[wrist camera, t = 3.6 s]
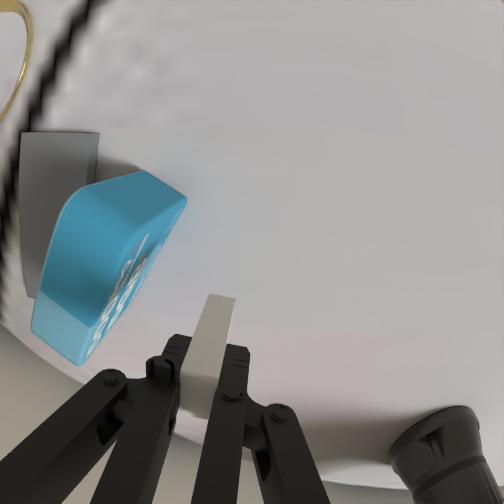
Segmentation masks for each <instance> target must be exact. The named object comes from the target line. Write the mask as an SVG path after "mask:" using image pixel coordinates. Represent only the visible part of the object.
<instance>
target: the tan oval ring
mask: <svg viewBox="0 0 504 504" xmlns="http://www.w3.org/2000/svg"><path fill="white" fill-rule="evenodd" d="M0 12H15V13H18V14H19V15H20V16H21V17H22V18H23V20H24V21H25V24H26V28H27V48H26V55H25V59H24V64H23V67H22V71H21V74H20V77H19V80H18V82H17V85H16V87H15V90H14V92H13V94H12V96H11V98H10V100H9V102H8V103H7V105H6V107H5V108H4V110H3V111H2V113H1V114H0V123H1V121H2V120H3V118H4V117H5V115H6V114H7V112H8V110H9V109H10V107H11V105H12V103H13V101H14V99H15V97H16V95H17V93H18V91H19V88H20V86H21V83H22V81H23V78H24V75H25V72H26V69H27V65H28V61H29V57H30V52H31V47H32V37H33V25H32V18H31V14H30V12H29V9H28V7H27V6H26V5H25V4H24V3H23V2H22V1H20V0H0ZM27 17H28V18H27Z"/></svg>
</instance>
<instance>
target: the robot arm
mask: <svg viewBox="0 0 504 504" xmlns="http://www.w3.org/2000/svg"><path fill="white" fill-rule="evenodd" d="M235 300H236V299H235V298H230V297H224V296H219V295H214V294H209V296H208V298H207V301H206V303H205V306H204V309H203V311H202V314H201V316H200V319H199V322H198V324H197V327H196V330H195V332H194V335H193V337H189V336H184V335H180V334H175V335H173V336H172V337H171V338H169V340H168V342H167V344H166V347H165V348H164V350H163V352H162V355H161V356H154V357H152V358H149V359H148V360H147V361H146V377H145V378H140V379H130V378H126V376H125V374H124V373H122V372H121V371H119V370H116V369H105V370H102V371H101V372H99V373H98V374H97V375H96V376H94V377H93V378H92V379H91V380H90V381H89V382H88V383H87V384H85V385H84V386H83V387H82V388H81V389H80V390H79V391H78V392H77V393H75V394H74V395H73V396H72V397H71V398H70V399H69V400H68V401H66V402H65V403H64V404H63V405H62V406H61V407H60V408H59V409H58V410H56V411H55V412H54V413H53V414H52V415H51V416H50V417H49V418H47V419H46V420H45V421H44V422H43V423H42V424H41V425H40V426H39V427H38V428H36V429H35V430H34V431H33V432H32V433H31V434H30V435H29V436H28V437H26V438H25V439H24V440H23V441H22V442H21V443H20V444H19V445H18V446H16V447H15V448H14V449H13V450H12V451H11V452H10V453H9V454H8V455H7V456H5V458H3V459H2V460H1V461H0V504H61V503H62V502H63V501H64V500H65V499H66V497H67V496H68V495H69V494H70V493H71V492H72V491H73V489H74V488H75V487H76V486H77V485H78V484H79V483H80V482H81V480H82V479H83V478H84V477H85V476H86V475H87V474H88V472H89V471H90V470H91V469H92V468H93V467H94V465H95V464H96V463H97V462H98V461H99V460H100V459H101V457H102V456H103V455H104V454H105V453H106V452H107V450H108V449H109V448H110V447H111V446H112V445H113V443H114V442H115V441H116V440H117V441H116V444H115V446H114V448H113V450H112V453H111V455H110V457H109V459H108V462H107V464H106V466H105V469H104V471H103V473H102V476H101V478H100V480H99V483H98V485H97V487H96V490H95V492H94V495H93V497H92V499H91V502H90V504H152V501H153V498H154V494H155V491H156V488H157V484H158V480H159V477H160V474H161V470H162V467H163V464H164V460H165V457H166V454H167V450H168V447H169V444H170V441H171V437H172V434H173V431H174V427H175V424H176V415H177V412H178V413H180V414H184V415H189V416H193V417H198V418H203V419H208V420H209V421H208V425H207V430H206V435H205V439H204V444H203V449H202V453H201V458H200V463H199V467H198V472H197V477H196V481H195V486H194V491H193V496H192V500H191V504H236V502H237V494H238V484H239V475H240V465H241V456H242V446H244V447H246V448H249V449H251V452H252V457H253V461H254V465H255V469H256V473H257V477H258V481H259V485H260V489H261V493H262V497H263V501H264V504H330V501H329V499H328V496H327V494H326V491H325V489H324V486H323V484H322V481H321V479H320V476H319V473H318V471H317V468H316V466H315V463H314V461H313V458H312V456H311V453H310V450H309V448H308V445H307V443H306V440H305V437H304V435H303V432H302V430H301V427H300V425H299V422H298V419H297V417H296V414H295V413H294V411H293V410H292V409H291V408H290V407H288V406H286V405H283V404H277V403H275V404H270V405H268V406H267V407H265V406H262V405H260V404H258V403H256V402H254V401H253V400H252V399H251V398H250V397H249V396H248V393H247V383H248V373H249V362H250V353H249V351H248V349H247V347H243V346H237V345H232V344H228V339H229V334H230V328H231V323H232V317H233V311H234V305H235ZM178 408H179V411H178ZM479 428H480V427H479V421H478V419H477V417H476V415H475V413H474V412H473V410H472V409H470V408H468V407H462V406H461V407H453V408H449V409H446V410H443V411H440V412H438V413H436V414H433V415H431V416H429V417H428V418H426V419H424V420H422V421H421V422H419V423H417V424H416V425H414V426H413V427H412V428H410V429H409V430H408V431H406V432H405V433H404V434H403V435H402V436H401V437H400V438H399V439H398V440H397V441H396V442H395V443H394V445H393V446H392V448H391V450H390V452H389V459H390V463H391V466H392V469H393V471H394V472H395V473H396V474H397V475H399V477H400V478H401V480H402V481H403V482H404V484H405V485H406V486H407V488H408V489H409V490H410V492H411V494H412V497H413V500H414V504H504V499H503V497H502V494H501V492H500V490H499V487H498V485H497V483H496V481H495V479H494V476H493V474H492V472H491V470H490V468H489V466H488V464H487V462H486V460H485V458H484V456H483V453H482V445H481V438H480V433H479Z"/></svg>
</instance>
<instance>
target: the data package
mask: <svg viewBox="0 0 504 504" xmlns="http://www.w3.org/2000/svg"><path fill="white" fill-rule="evenodd" d="M186 201H187V198H186V197H185V196H184V195H182V194H181V193H179V192H178V191H176V190H174V189H173V188H171V187H170V186H168V185H167V184H165V183H163V182H162V181H160V180H159V179H157V178H156V177H154V176H152V175H151V174H149V173H148V172H146V171H144V170H142V171H138V172H134V173H130V174H126V175H122V176H119V177H115V178H111V179H108V180H104V181H100V182H97V183H94V184H90V185H87V186H83V187H81V188H79V189H78V190H76V191H75V192H74V193H73V194H72V195H71V196H70V197H69V198H68V199H67V201H66V202H65V204H64V205H63V207H62V209H61V211H60V213H59V215H58V218H57V221H56V224H55V227H54V230H53V234H52V237H51V240H50V244H49V247H48V251H47V254H46V258H45V261H44V265H43V269H42V273H41V277H40V281H39V286H38V290H37V295H36V299H35V304H34V309H33V315H32V320H31V331H32V332H33V333H34V334H35V335H36V336H37V337H38V338H40V339H41V340H42V341H43V342H45V343H46V344H47V345H49V346H50V347H51V348H52V349H54V350H55V351H56V352H58V353H59V354H60V355H62V356H63V357H64V358H66V359H67V360H68V361H70V362H71V363H73V364H74V365H75V366H77V367H80V366H82V365H83V364H84V363H85V362H86V361H87V359H88V358H89V356H90V355H91V354H92V352H93V351H94V350H95V348H96V347H97V346H98V344H99V343H100V342H101V341H102V339H103V338H104V337H105V335H106V334H107V333H108V331H109V330H110V329H111V327H112V326H113V325H114V324H115V322H116V321H117V320H118V318H119V317H120V316H121V315H122V313H123V312H124V311H125V310H126V308H127V307H128V306H129V305H130V303H131V302H132V300H133V299H134V297H135V295H136V294H137V292H138V290H139V288H140V287H141V285H142V283H143V281H144V279H145V277H146V275H147V273H148V271H149V269H150V267H151V266H152V264H153V262H154V260H155V258H156V256H157V254H158V253H159V251H160V249H161V247H162V245H163V244H164V242H165V240H166V238H167V236H168V235H169V233H170V231H171V229H172V228H173V226H174V224H175V222H176V221H177V219H178V217H179V215H180V214H181V212H182V210H183V208H184V206H185V204H186Z"/></svg>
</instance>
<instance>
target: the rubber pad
mask: <svg viewBox="0 0 504 504" xmlns="http://www.w3.org/2000/svg"><path fill="white" fill-rule="evenodd" d="M98 141H99V133H76V132H25V133H22V135H21V147H20V163H19V223H20V239H21V251H22V261H23V270H24V277H25V284H26V291H27V296H28V297H31V298H33V299H36V295H37V290H38V286H39V281H40V277H41V273H42V269H43V265H44V261H45V258H46V254H47V251H48V247H49V244H50V240H51V237H52V234H53V230H54V227H55V224H56V221H57V218H58V215H59V213H60V211H61V209H62V207H63V205H64V204H65V202H66V201H67V199H68V198H69V197H70V196H71V195H72V194H73V193H74V192H75V191H76V190H78V189H79V188H81V187H83V186H87V185H90V184H94V183H95V171H96V160H97V150H98Z"/></svg>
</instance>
